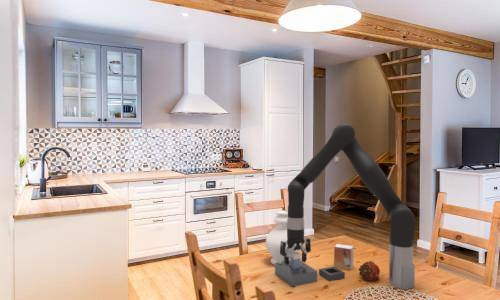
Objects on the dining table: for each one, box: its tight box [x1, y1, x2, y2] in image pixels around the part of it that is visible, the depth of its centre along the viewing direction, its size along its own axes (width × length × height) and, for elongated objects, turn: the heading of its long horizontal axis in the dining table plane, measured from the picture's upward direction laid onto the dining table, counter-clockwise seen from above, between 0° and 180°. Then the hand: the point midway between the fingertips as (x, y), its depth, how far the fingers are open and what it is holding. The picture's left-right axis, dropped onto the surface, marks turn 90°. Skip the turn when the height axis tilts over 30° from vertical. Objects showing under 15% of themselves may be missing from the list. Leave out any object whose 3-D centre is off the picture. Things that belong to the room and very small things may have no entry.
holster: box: [318, 265, 346, 282], centre depth 161 cm, size 8×8×3 cm
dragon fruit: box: [358, 260, 381, 281], centre depth 159 cm, size 8×8×12 cm
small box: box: [333, 243, 355, 271], centre depth 172 cm, size 8×6×10 cm
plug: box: [290, 252, 302, 269], centre depth 161 cm, size 3×3×10 cm
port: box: [274, 260, 318, 288], centre depth 161 cm, size 16×12×6 cm
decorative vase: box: [265, 209, 301, 266], centre depth 180 cm, size 18×18×25 cm
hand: (295, 263), depth 160 cm, fingers open, 8 cm apart
